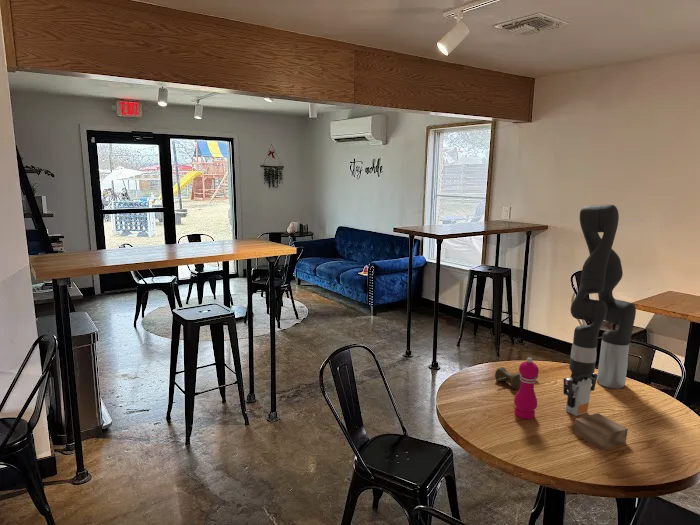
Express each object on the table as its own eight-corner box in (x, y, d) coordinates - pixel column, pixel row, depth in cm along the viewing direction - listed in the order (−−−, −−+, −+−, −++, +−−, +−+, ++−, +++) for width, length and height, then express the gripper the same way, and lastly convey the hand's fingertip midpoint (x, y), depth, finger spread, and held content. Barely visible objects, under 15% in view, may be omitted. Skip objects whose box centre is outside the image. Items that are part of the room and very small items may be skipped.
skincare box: (576, 416, 154) (580, 382, 152) (565, 411, 158) (569, 377, 156) (588, 412, 157) (592, 379, 155) (577, 407, 161) (581, 374, 159)
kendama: (543, 384, 180) (505, 393, 171) (523, 375, 188) (486, 383, 179) (544, 369, 179) (506, 377, 170) (524, 361, 188) (487, 368, 178)
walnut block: (596, 427, 148) (598, 413, 147) (625, 444, 139) (627, 428, 138) (573, 433, 144) (575, 418, 143) (602, 451, 135) (604, 435, 134)
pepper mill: (509, 414, 155) (514, 357, 151) (518, 407, 160) (523, 352, 156) (530, 422, 150) (536, 363, 146) (539, 414, 155) (545, 357, 151)
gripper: (587, 350, 161) (581, 396, 164) (558, 356, 154) (553, 404, 157) (607, 358, 154) (601, 405, 157) (578, 365, 148) (572, 414, 151)
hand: (577, 404), depth 157 cm, fingers closed on skincare box, 6 cm apart
